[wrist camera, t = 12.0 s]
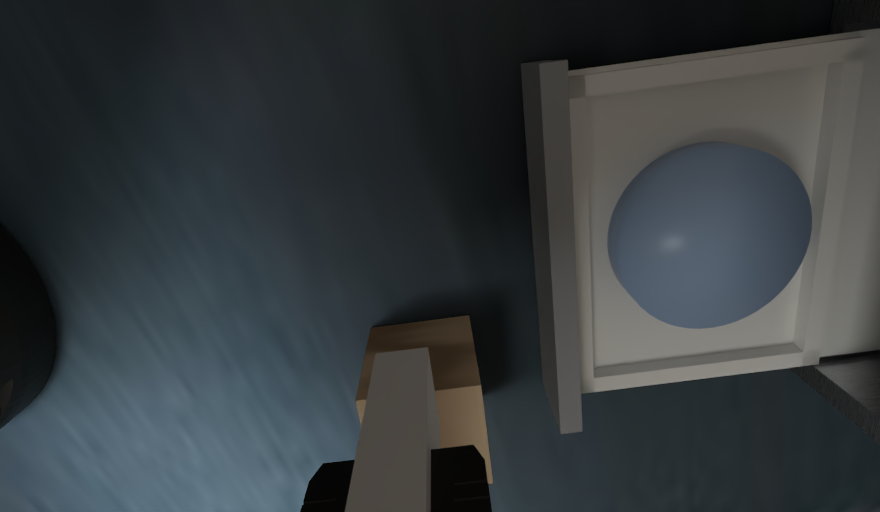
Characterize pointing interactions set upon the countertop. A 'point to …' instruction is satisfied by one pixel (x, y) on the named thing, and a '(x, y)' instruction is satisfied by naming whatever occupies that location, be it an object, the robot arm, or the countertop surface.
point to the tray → (676, 125)
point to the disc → (709, 233)
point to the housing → (863, 373)
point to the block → (439, 376)
